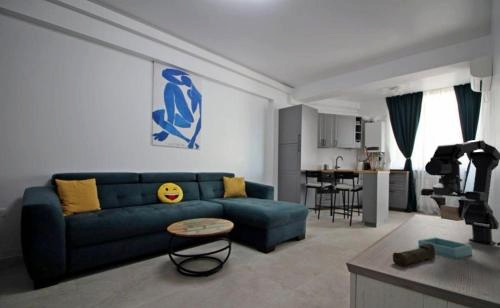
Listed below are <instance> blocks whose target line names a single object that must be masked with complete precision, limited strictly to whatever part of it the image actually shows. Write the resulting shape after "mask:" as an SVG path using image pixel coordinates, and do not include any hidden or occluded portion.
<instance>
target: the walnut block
mask: <svg viewBox="0 0 500 308" xmlns="http://www.w3.org/2000/svg"><path fill="white" fill-rule="evenodd" d="M440 207H441V211H440V219H442V220H449V221H455V222H461V221H465V220H464V215H463V217H462V218H460V217H459V205H449V204H446V205H440Z"/></svg>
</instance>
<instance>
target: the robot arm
mask: <svg viewBox="0 0 500 308" xmlns="http://www.w3.org/2000/svg"><path fill="white" fill-rule="evenodd" d="M436 147H437V148H436V149H435V151H434V153H433V155H432V157H430V160H429V161H427V163H426V164H425V166H424V170H425V172H426V174H428V175H430V176H437V177H438V176H439V177H440V178H438V182H437V183H435V184H434V185H432V186H431V187H432V188H421V190H420V195H421V196H427V197H429V199H432V200H433V201H434V202H435V204H436V205H437V206H438V208H439V210H440V212H441V207H440V205H447V204H446V197H455V198H456V197H457V198H460V199H457V201H458V206H459V217H460V218H462V217H463V215H464V220H463V221H464V223H465V225H466V226H471V232H472V238H468V241H470V242H475V243H480V244H485V245H493V243H494V244H496V243H495V242H494V241H495V240H493V231H492V230H499V224H500V223H499V222H498V219H496V217H495V216H494V211H493V209H492V208H491V206H490V204H489V197H490V189H491V182H492V173H493V171H494V170H495V169H496V168H497V167H498V166H499V163H500V152H499V150H498V149H497V148H496V147H495V146H493V145H491V144H488V143H486V142H485V141H484V140H482V139H475V140H468V141H466V142H462V143H451V144H449V143H448V144H440V145H437V146H436ZM466 153H467V156H468V157H469V158H470V160H471V164H472V165H473V166H474V167H475V173H474V182H473V188H472V191H469V190H468V191H465V192H463V189H461V187H462V186H461V183H462V182H463V179H462V178H461V171H460V170H461V169H460V168H461V167H460V166H462V164H463V163H462V162H461V161H460V160H459V159H461V158H463V157H464V156H465V154H466Z"/></svg>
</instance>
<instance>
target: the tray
mask: <svg viewBox="0 0 500 308" xmlns="http://www.w3.org/2000/svg"><path fill="white" fill-rule="evenodd" d="M417 241H418V242H417V243H418V248H420V245H424V244H432V245H433V246H434V249H435V255H436V254H437V255H440V256H444V257H447V258H451V259H453V260H454V259H455V260H457V259H461V258H465V257H468V256H471V255H473V248H472V245H471V244H466V243H463V242H457V241H453V240H449V239H446V238H445V239H444V238H441V237H436V236H434V237H429V238H428V237H427V238H424V239H423V238H422V239H418V240H417Z"/></svg>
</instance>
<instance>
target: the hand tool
mask: <svg viewBox="0 0 500 308" xmlns="http://www.w3.org/2000/svg"><path fill="white" fill-rule="evenodd" d="M435 257H436V253H435V249H434V246H433V245H432V244H424V245H420V248H419V247H418V248H416V249H410V250H405V251H401V252H393V254H392V261H393V264H395V265H397V266H398V267H402V268H404V267H408V266H409V265H410V264H414V263H419V262H421V261H424V260H425V261H432V260H433V259H435Z"/></svg>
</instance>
